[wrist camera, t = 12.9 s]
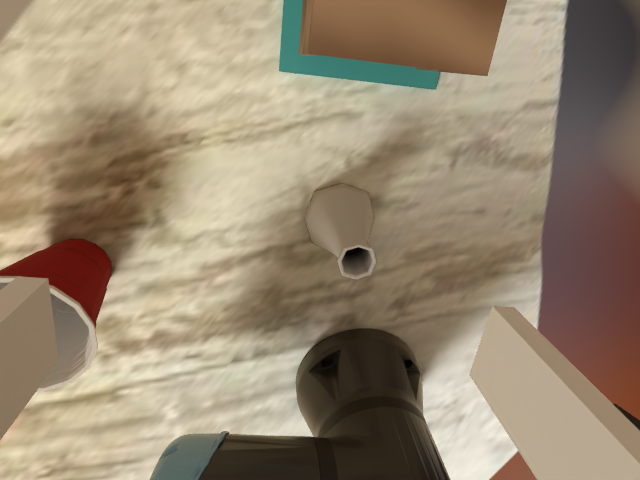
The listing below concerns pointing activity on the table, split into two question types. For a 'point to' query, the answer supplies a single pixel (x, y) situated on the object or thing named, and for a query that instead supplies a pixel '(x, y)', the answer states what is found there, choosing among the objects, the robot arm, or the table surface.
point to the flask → (343, 227)
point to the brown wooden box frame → (405, 32)
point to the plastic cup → (69, 301)
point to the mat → (342, 59)
